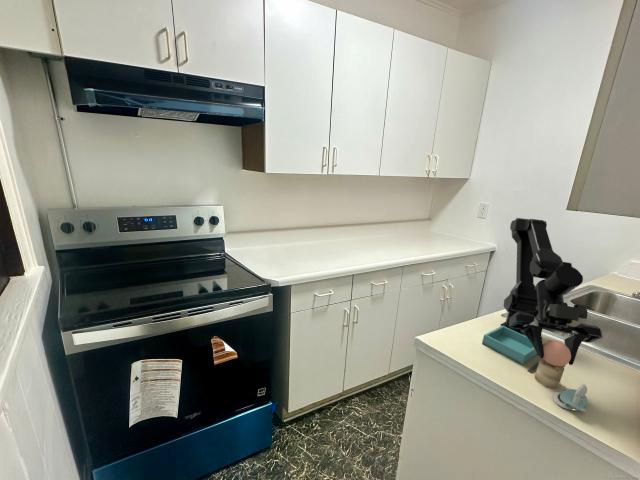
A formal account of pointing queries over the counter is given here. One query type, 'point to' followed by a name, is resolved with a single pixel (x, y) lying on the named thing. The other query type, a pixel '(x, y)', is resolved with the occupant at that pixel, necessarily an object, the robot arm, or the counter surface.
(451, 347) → the counter surface
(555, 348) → the ball
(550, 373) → the knobbed tan cylinder
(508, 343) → the tray
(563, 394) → the pacifier
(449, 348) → the counter surface
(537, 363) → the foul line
